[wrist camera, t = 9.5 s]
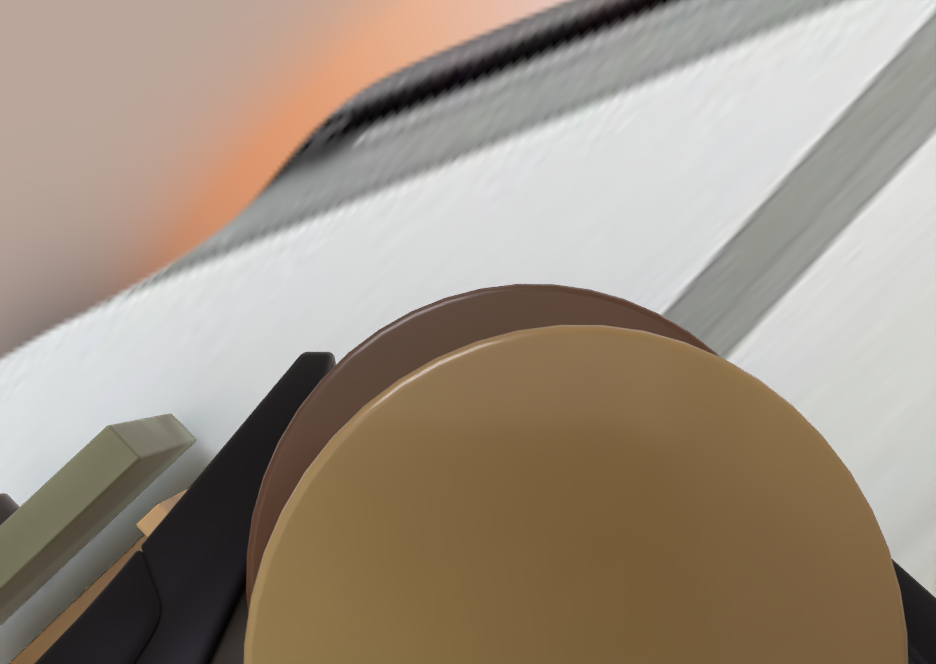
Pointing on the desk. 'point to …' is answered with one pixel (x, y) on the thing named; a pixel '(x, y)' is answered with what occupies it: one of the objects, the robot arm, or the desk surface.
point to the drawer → (83, 515)
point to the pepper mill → (559, 503)
